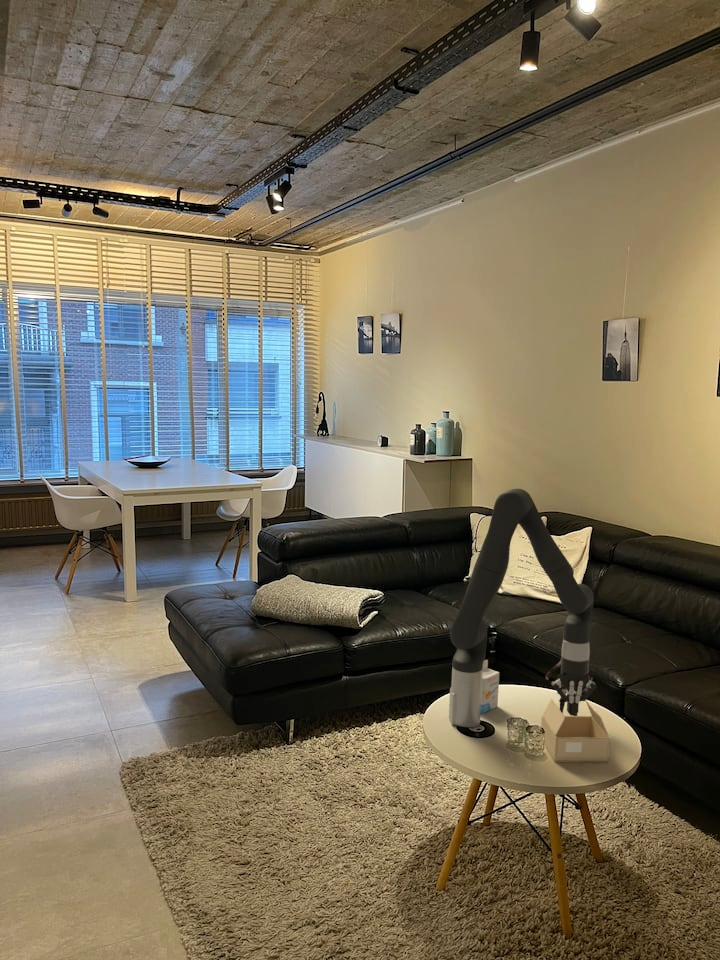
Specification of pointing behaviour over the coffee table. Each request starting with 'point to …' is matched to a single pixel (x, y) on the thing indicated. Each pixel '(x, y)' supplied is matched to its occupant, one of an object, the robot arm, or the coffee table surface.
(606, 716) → the coffee table surface
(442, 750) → the coffee table surface
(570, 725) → the carton
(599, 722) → the flap
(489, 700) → the ink box
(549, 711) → the flap
